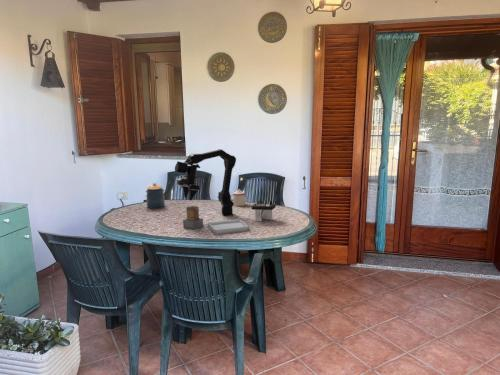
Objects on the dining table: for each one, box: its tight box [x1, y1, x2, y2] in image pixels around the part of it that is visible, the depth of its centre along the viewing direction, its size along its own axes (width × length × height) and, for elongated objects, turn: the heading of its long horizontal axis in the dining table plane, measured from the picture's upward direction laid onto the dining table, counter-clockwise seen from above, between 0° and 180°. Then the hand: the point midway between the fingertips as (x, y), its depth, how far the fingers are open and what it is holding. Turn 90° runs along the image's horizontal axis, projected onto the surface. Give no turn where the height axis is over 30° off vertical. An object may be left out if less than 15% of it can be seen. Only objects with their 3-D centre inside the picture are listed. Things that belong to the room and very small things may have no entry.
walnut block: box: [186, 205, 200, 221], centre depth 227 cm, size 5×5×12 cm
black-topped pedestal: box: [251, 199, 277, 222], centre depth 238 cm, size 28×26×13 cm
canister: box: [145, 182, 166, 209], centre depth 280 cm, size 13×13×18 cm
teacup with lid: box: [230, 188, 246, 207], centre depth 282 cm, size 12×9×12 cm
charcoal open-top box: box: [182, 217, 204, 230], centre depth 227 cm, size 8×8×4 cm
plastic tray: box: [207, 218, 250, 236], centre depth 222 cm, size 20×17×2 cm
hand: (187, 198), depth 240 cm, fingers open, 9 cm apart
